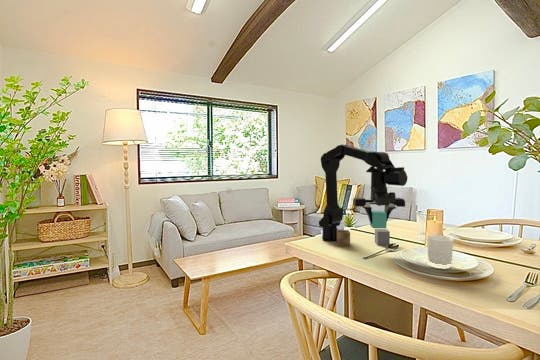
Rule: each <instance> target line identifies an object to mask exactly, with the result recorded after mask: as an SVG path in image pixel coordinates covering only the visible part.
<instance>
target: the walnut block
mask: <svg viewBox="0 0 540 360" xmlns="http://www.w3.org/2000/svg"><path fill="white" fill-rule="evenodd" d="M336 245H337V247H341V248H347V247H348V248H350V247H351V232H350V230H349V229H344V230H343V229H338V230H337V241H336Z"/></svg>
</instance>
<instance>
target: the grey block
mask: <svg viewBox="0 0 540 360" xmlns="http://www.w3.org/2000/svg"><path fill="white" fill-rule="evenodd" d="M390 234H391V232H390V231H389V230H388V229H387V228H374V243H375V244H376V246H388V245H390V241H391V240H390V237H391V235H390ZM390 246H391V245H390Z"/></svg>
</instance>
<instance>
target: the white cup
mask: <svg viewBox="0 0 540 360" xmlns="http://www.w3.org/2000/svg"><path fill="white" fill-rule="evenodd" d="M426 240H427V258H428V260H429V261H430V262H432V263H435V264H442V265H447V264H451V265H452V261H453V251H454V243H455V241H454V240H455V239H454V238H453V237H450V236H446V235H440V234H439V235H438V234H432V235H431V234H429V235H427V239H426Z"/></svg>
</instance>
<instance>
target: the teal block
mask: <svg viewBox="0 0 540 360" xmlns="http://www.w3.org/2000/svg"><path fill="white" fill-rule="evenodd" d="M371 213H372V224H370V223H369V226H370V227H371V228H372V229H387V223H386V222H388V220H387V213H386V212H384V210H371Z"/></svg>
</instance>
